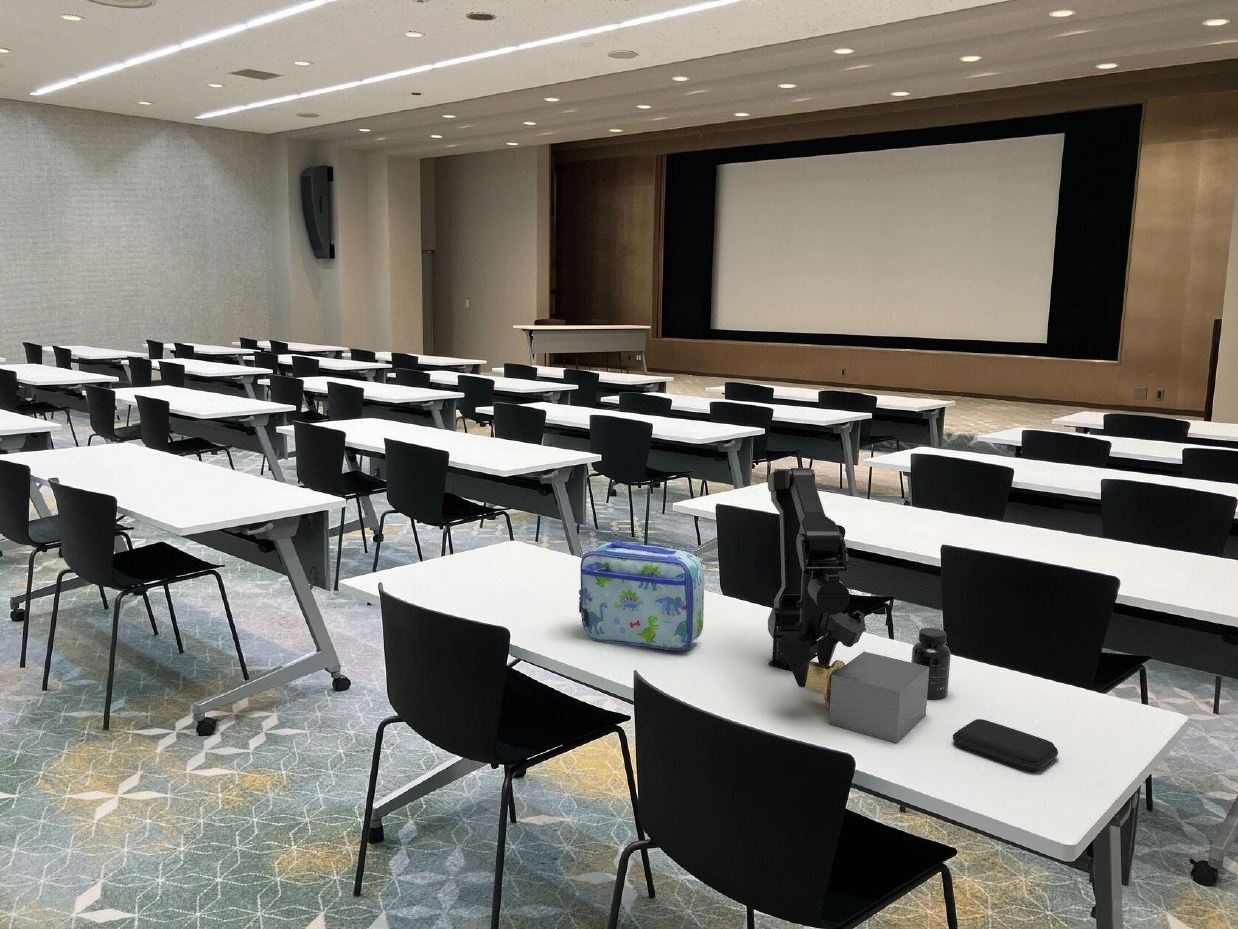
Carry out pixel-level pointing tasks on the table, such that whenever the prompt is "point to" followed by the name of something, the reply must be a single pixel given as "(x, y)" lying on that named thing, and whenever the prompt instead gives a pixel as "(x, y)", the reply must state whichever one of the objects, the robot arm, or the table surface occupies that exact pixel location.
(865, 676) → the block
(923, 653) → the supplement bottle
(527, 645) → the table surface
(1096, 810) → the table surface
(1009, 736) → the carrying case or bag
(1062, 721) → the table surface
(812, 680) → the end cover
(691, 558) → the lunch box
